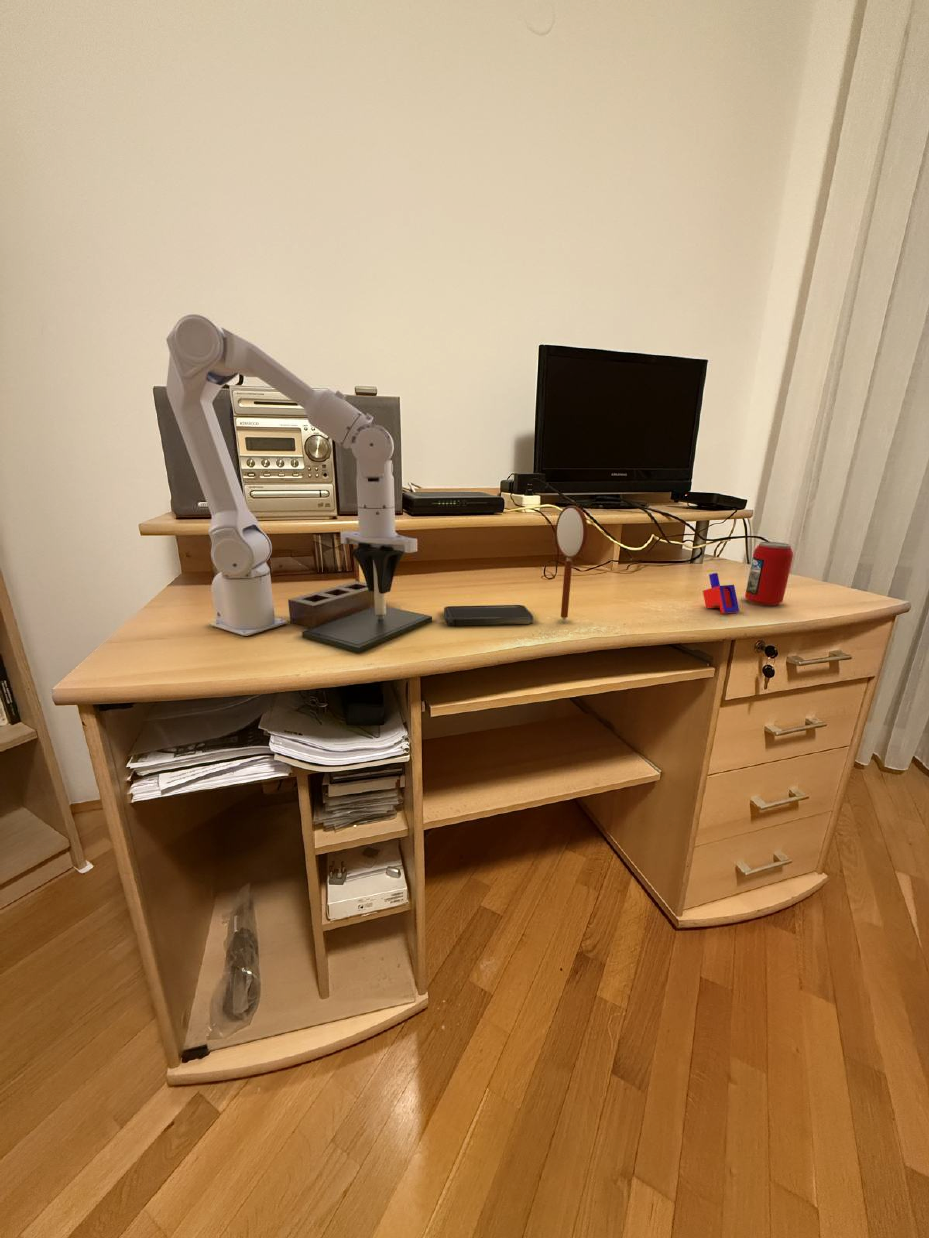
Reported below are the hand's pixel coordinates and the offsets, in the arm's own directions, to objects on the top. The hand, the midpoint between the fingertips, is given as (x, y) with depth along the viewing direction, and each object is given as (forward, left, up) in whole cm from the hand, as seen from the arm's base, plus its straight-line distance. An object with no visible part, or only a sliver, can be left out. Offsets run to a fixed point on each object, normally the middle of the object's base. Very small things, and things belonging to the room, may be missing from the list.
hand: (379, 591), depth 81 cm
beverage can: (+54, +55, -6) cm, 78 cm away
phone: (+13, +13, -6) cm, 20 cm away
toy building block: (+47, +44, -6) cm, 65 cm away
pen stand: (-11, 0, -6) cm, 12 cm away
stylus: (0, 0, -5) cm, 5 cm away
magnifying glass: (+25, +19, -6) cm, 32 cm away
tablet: (0, -3, -6) cm, 6 cm away
